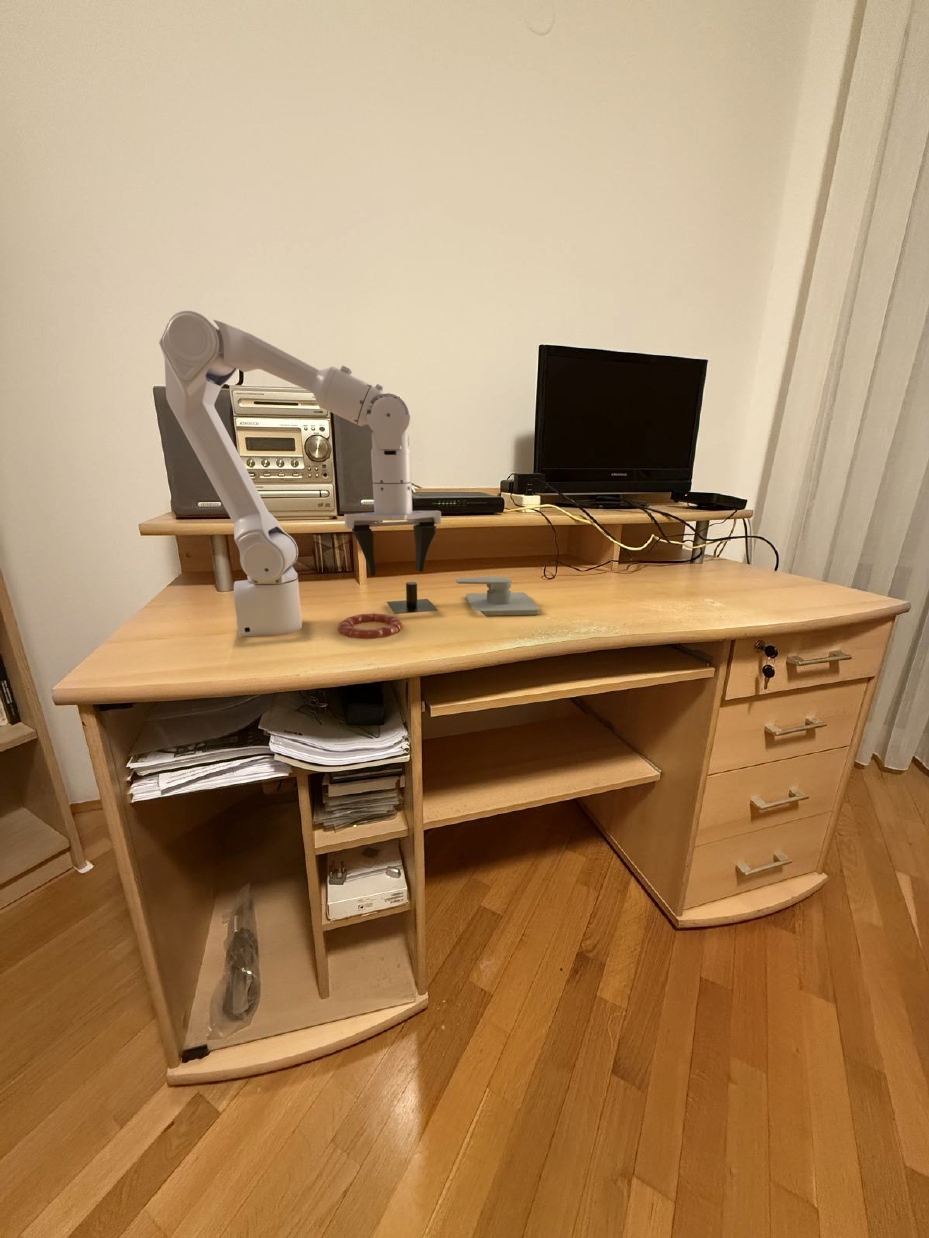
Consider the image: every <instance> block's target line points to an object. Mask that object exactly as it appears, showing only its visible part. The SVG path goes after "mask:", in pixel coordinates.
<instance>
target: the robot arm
mask: <svg viewBox="0 0 929 1238" xmlns="http://www.w3.org/2000/svg"><path fill="white" fill-rule="evenodd" d="M212 321H213V322H214V323H215V324H216V325H214V324H213V323H212V322H211V320H210V319H208V318H207V317H206V316H205V315H203V314H201V313H199V312H196V311H193V310H181V311H178V312H176V313H175V314H174V313H173V315H172V316H171V317H170V318H169V319H168V320H167V322H166V325H165V327H164V330H163V332H162V334H161V337H160V339H159V342H158V344H159V346H160V350H161V352H162V355H163V357H164V358H163V359H164V378H165V379H164V380H165V399H166V400H167V403H168V405H169V407H170V410H171V411H172V413H173V415H174V416H175V417H174V418H176V420H177V422H178V424H179V426H180V428H181V429H182V432H183V434H184V435H185V437H186V439H187V440H188V442H189V444H190V446H191V448H192V450H193V452H194V453H195V455H196V457H197V459H198V461H199V463H200V464H201V466H202V468H203V470H204V472H205V473H206V475H207V477H208V479H209V481H210V483H211V485H212V486H213V488H214V490H215V492H216V494H217V496H218V498H219V500H220V501H221V503H222V505H223V507H224V509H225V510H226V513H227V515H228V516H229V518H230V520H231V522H232V523H233V539H234V542H235V544H236V546H237V548H238V550H239V563H240V566H241V568H242V570H243V572H244V573H245V574H246V575H247V579H245V580H236V581H234V582H233V600H234V601H233V602H234V608H235V617H236V619H235V621H236V627H237V629H238V630H237V631H238V637H239V638H245V637H246V638H247V637H257V636H282V635H288V634H292V633H295V632H297V631H299V630H300V629H301V628H302V627H303V618H302V607H301V596H300V586H299V577H298V576H299V574H298V572H297V571H296V570H295V568H294V567H293V566H294V564H295V563H296V562H297V560H298V556H299V547H298V545H297V542H296V540H295V539H294V537H292V536H291V535H290V534H288V533H287V532H286V531H285V530H284V529H283V527H282V526H281V524H280V522H279V520H278V519H277V518H276V517H275V516H274V515H273V514H272V513H270V511H269V510H268V508H267V507H266V504H265V502H264V501H263V498H262V496H261V495H260V493H259V491H258V489H257V486H256V485H255V483H254V481H253V479H252V477H251V475H250V473H249V471H248V469H247V467H246V466H245V463H244V462H243V459H242V458H241V456H240V453H239V452H238V450H237V448H236V446H235V444H234V442H233V440H232V439H231V437H230V435H229V432H228V431H227V428H226V427H225V424H224V423H223V421H222V419H221V416H220V415H219V413H218V411H217V410H216V407H215V403H216V401H217V400H218V399H217V398H218V396H219V394H220V391H221V389H222V388H223V386H225V384H226V383H227V382H228V381H229V380H230V379H231V378H232V377H233V376H234V375H235V374H236V372H237V371H238V370H239V371H241V372H243V373H247V372H252V371H255V370H261V371H263V372H266V373H268V374H270V375H272V376H275V377H276V378H279V379H282V380H284V381H286V382H287V383H290V384H292V385H294V386H297V387H300V388H301V389H304V390H306V391H308V392H310V393H312V395H313V396H314V400H315V401H316V403H317V405H318V407H319V408H321V409H323V410H325V411H327V412H329V413H332V414H334V415H336V416H338V417H340V418H342V419H344V420H346V421H349V422H351V423H352V424H355V425H357V426H359V427H364V426H369V428H370V430H371V446H372V448H371V450H370V461H371V477H372V494H373V496H372V497H373V509H374V511H371V512H361V513H358V512H357V513H343V516H344V528H346V529H347V530H351V531H352V533H353V535H354V537H355V539H356V541H357V542H358V544H359V547H360V549H361V552H362V554H363V556H364V560H365V563H366V565H367V572H368V575H369V576H371V577H373V576H376V565H375V564H376V563H375V555H374V554H375V553H374V533H373V532H372V528H375V527H399V526H412V528H413V529H412V530H413V534H414V535H413V536H414V544H415V545H414V546H415V570H417V571H418V572H424V571H425V570H424V569H425V564H426V559H427V555H428V552H429V549H430V546H431V544H432V541H433V539H434V538H435V536H436V533H437V525H441V524H442V511H440V510H413V492H412V490H413V489H412V463H411V461H412V460H411V450H410V448H409V446H410V437H409V435H408V432H406V431H407V430H408V428H409V426H410V422H411V415H410V412H409V408H408V406H407V403H406V402H405V401H404V400H403V399H402V398H401V397H399V396H398V395H397V394H393V393H389V392H387V393H383V392H384V386H382V385H381V384H379V383H376V384H375V385H372V384H371V383H368V382H366V381H365V380H363V379H360V378H359V377H357V376H355V375H353V374H352V370H351V368H349V367H347V366H345V365H341V366H340V368H338V367H337V366H335V365H330V366H328V367H325V368H322V369H318V368H316V367H315V366H312V365H310V364H308V363H306V362H305V361H303V360H301V359H299V358H297V357H296V356H293V355H292V354H290V353H288V352H286V351H284V350H282V349H280V348H278V347H277V346H275V345H272V344H271V343H269V342H266V341H265V340H263V339H261V338H260V337H257V336H256V335H254V334H252V333H250V332H248V331H244V330H242V329H240V328H237V327H235V326H232V325H230V324H228V323H225V322H222V321H219V320H216V319H213V320H212ZM384 521H385V522H384ZM246 628H249V630H246Z"/></svg>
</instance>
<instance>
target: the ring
mask: <svg viewBox="0 0 929 1238" xmlns="http://www.w3.org/2000/svg"><path fill="white" fill-rule="evenodd" d="M370 622H376V623H384V624H385V625H387V626H384V627H380V628H370V629H366V628H365V629H364V628H356V627H354V626H356V625H358V624H363V623H370ZM337 628H338V629H337V630H338V632H339V634H341V635H343V636H346V637H348V638H351V639H352V638H353V639H363V640H368V639H369V640H370V639H379V638H380V639H381V638H386V637H389V636H392V635H396V634H398V633H400V631H402V629H403V628H404V625H403V623H402V621H401V620H400V618H399V617H397V616H393V615H390V614H387V613H374V612H372V613H361V614H355V615H352V616H348V617H346V618H345V619H343V620H342V621H341V622H340V623H338V626H337Z"/></svg>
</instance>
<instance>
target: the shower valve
mask: <svg viewBox="0 0 929 1238" xmlns="http://www.w3.org/2000/svg"><path fill="white" fill-rule="evenodd" d="M455 583H456V584H458V585H486V587H487V588H488V589H487V591H486V592H468V593H466V594H465V601H467V602H468V603H469V604H470V606H471V608H472V610H473V611H475V612H480V613H481V614H482V615H484V616H485V617H496V616H532V615H533V616H535V615H539V614H540V607H539V606H538V605H537V604H536V602H534V601H533V600H532V598H531V597H530V596H529V595H528V594H527V593H526V592H523V591H522V592H521V591H520V592H519V591H518V592H517V591H515V592H514V591H513V592H511V590H510V589H511V588H512V579H511V578H510V577H506V576H477V577H456V578H455Z"/></svg>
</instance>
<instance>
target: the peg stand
mask: <svg viewBox="0 0 929 1238" xmlns="http://www.w3.org/2000/svg"><path fill="white" fill-rule="evenodd" d="M386 603H387V604H388V606H389V608H390V609H391V611H392V613H393V614H394V615H400V614H414V613H426V612H437V611H439V609H438V608H437V607H436V606H435V605H434V604H433V603H432V602H431V601H430V600H429V599H428V598H420V599H419V598H418V582H415V581H408V582H406V583H405V600H392V601H386Z"/></svg>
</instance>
